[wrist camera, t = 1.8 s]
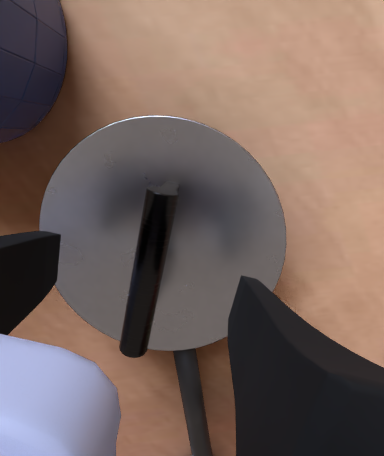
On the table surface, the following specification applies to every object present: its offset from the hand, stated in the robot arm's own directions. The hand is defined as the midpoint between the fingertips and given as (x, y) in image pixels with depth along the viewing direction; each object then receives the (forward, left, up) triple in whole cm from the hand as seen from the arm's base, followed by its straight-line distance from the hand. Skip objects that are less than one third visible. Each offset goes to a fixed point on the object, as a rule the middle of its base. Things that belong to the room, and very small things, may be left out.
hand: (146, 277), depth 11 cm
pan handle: (-11, -4, -6) cm, 13 cm away
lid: (0, 0, -4) cm, 4 cm away
